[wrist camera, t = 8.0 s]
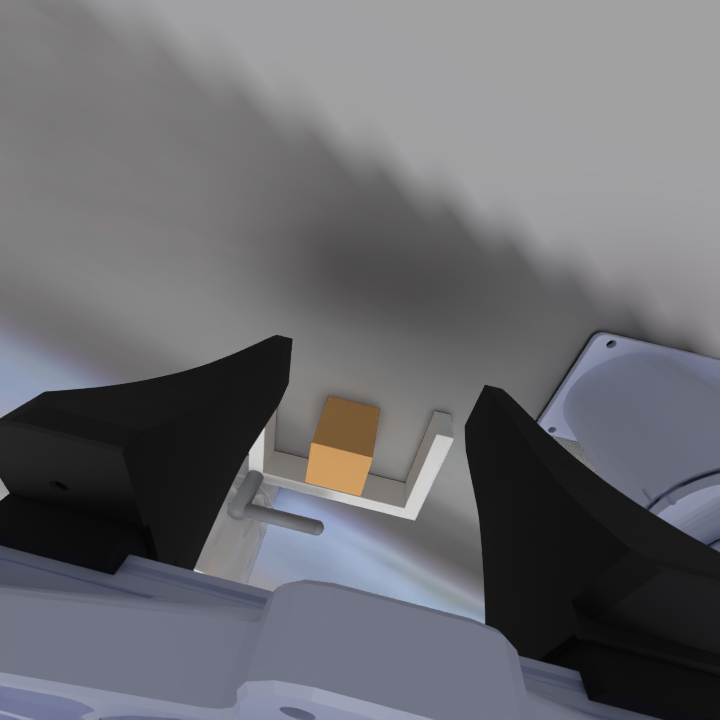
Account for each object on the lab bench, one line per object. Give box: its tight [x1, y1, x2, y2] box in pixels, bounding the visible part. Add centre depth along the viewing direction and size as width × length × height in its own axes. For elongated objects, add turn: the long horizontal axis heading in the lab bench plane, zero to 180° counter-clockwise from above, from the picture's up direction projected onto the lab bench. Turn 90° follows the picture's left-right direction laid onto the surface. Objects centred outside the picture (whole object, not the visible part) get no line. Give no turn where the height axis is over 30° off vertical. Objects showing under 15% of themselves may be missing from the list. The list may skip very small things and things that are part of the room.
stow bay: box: [227, 409, 454, 535], centre depth 24 cm, size 14×10×6 cm
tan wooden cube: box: [305, 396, 379, 496], centre depth 23 cm, size 4×4×5 cm
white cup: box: [194, 456, 280, 585], centre depth 27 cm, size 8×8×10 cm
